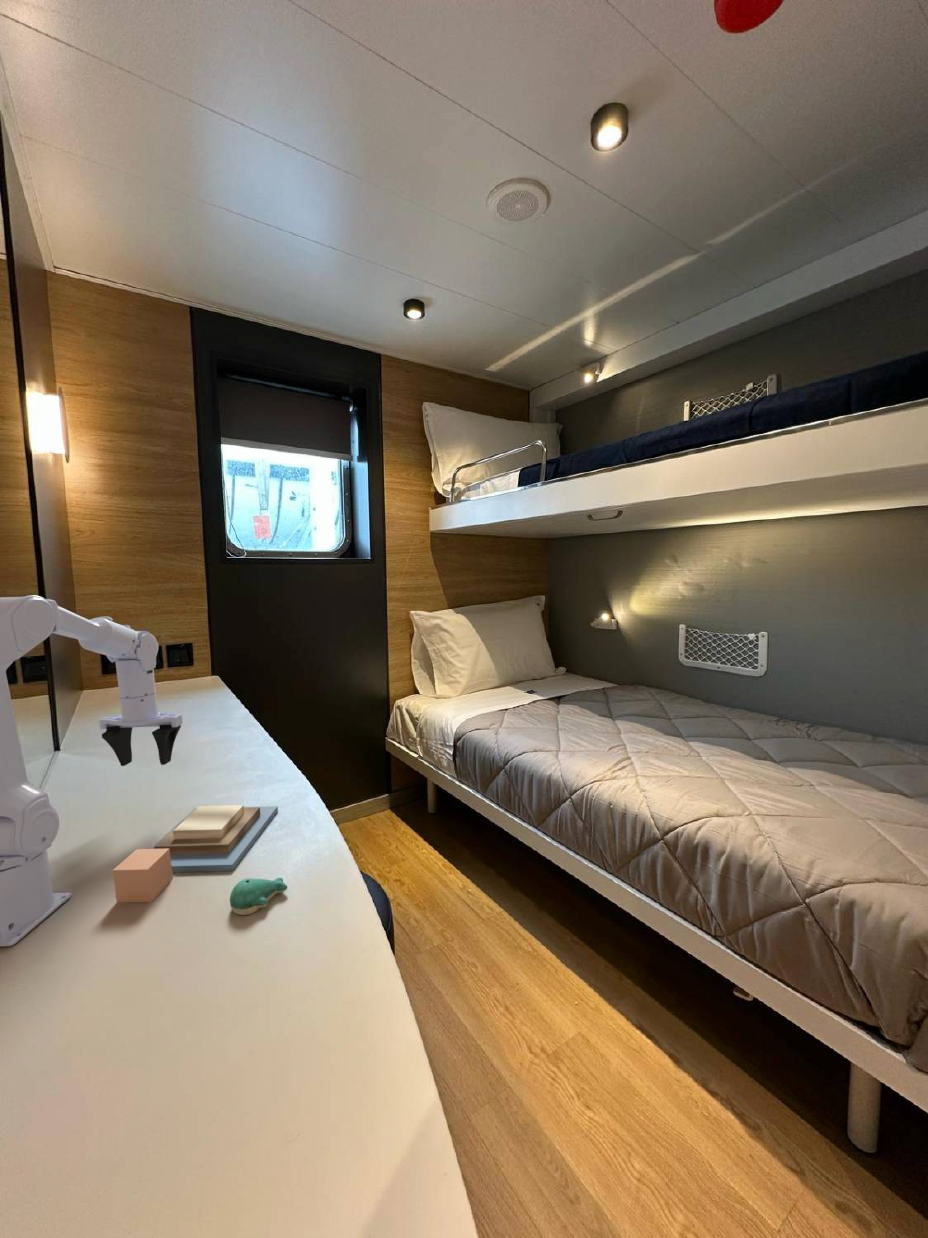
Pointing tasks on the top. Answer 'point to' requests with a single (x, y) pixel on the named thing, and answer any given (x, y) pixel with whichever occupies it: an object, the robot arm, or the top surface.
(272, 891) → the whale figurine
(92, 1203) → the top surface
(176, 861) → the plinth board
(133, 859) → the terracotta block
